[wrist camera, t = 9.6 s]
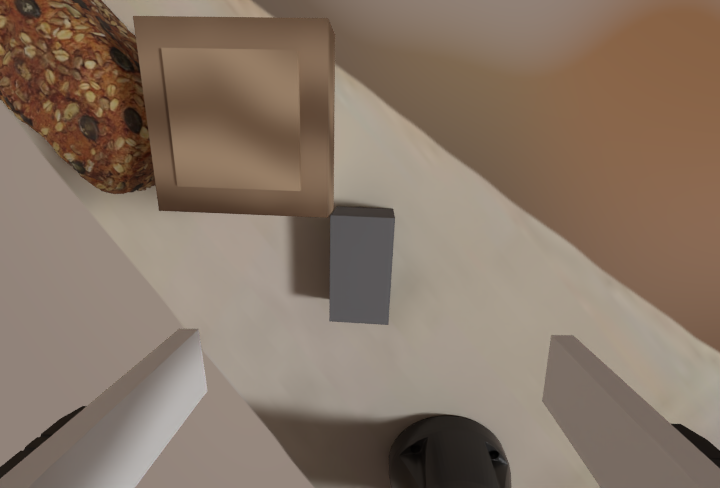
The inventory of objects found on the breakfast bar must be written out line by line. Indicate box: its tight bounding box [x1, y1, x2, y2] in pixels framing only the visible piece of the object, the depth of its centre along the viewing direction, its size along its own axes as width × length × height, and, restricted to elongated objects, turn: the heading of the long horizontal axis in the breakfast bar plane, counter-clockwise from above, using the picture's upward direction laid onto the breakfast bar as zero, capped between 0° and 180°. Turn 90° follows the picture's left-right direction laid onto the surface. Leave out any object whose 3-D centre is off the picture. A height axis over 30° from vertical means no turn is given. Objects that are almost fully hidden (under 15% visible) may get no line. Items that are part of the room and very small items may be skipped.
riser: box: [329, 207, 395, 325], centre depth 35 cm, size 11×6×5 cm, turn 178°
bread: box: [0, 0, 156, 194], centre depth 30 cm, size 19×11×10 cm, turn 41°
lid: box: [133, 16, 335, 218], centre depth 23 cm, size 12×12×3 cm
